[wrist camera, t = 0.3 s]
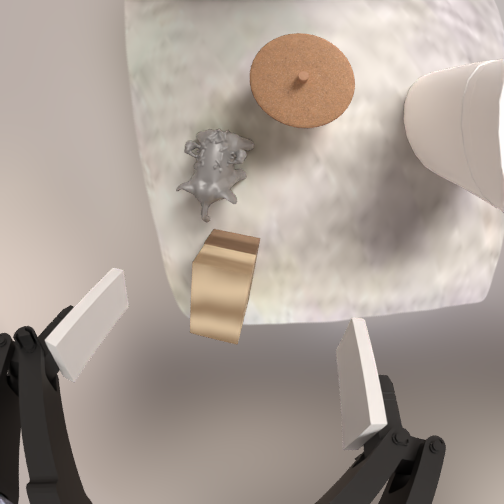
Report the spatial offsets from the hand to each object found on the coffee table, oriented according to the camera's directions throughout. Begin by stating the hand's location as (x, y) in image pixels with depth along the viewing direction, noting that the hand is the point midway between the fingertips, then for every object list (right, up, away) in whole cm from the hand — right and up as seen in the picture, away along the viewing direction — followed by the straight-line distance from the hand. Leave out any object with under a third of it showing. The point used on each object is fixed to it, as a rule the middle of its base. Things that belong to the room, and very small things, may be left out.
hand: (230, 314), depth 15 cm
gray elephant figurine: (-3, +15, +22) cm, 26 cm away
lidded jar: (+7, +24, +15) cm, 29 cm away
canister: (+29, +21, +13) cm, 38 cm away
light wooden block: (-3, -1, +24) cm, 24 cm away
